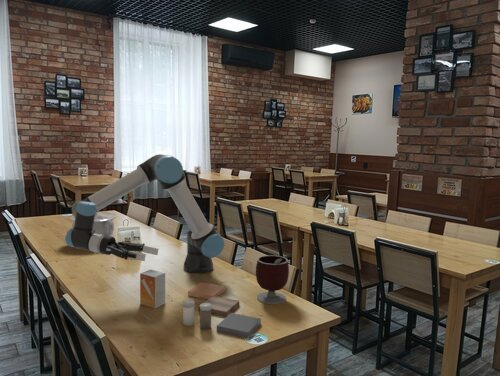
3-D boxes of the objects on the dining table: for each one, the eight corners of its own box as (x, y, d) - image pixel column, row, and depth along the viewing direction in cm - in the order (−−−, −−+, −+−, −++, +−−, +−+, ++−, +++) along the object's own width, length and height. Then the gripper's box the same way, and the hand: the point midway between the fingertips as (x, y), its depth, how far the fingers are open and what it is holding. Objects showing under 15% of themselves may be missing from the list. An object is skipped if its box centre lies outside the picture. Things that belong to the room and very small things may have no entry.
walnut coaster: (212, 300, 175) (212, 295, 175) (239, 305, 171) (239, 300, 170) (198, 311, 164) (198, 306, 164) (226, 316, 160) (226, 311, 159)
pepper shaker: (203, 323, 153) (203, 302, 152) (213, 325, 152) (213, 304, 151) (197, 328, 149) (197, 306, 148) (207, 330, 148) (208, 308, 147)
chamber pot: (71, 239, 268) (70, 207, 265) (116, 237, 276) (116, 206, 273) (66, 251, 241) (65, 215, 239) (116, 248, 249) (116, 214, 247)
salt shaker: (186, 320, 156) (186, 298, 155) (196, 322, 154) (196, 300, 153) (180, 324, 152) (180, 303, 151) (190, 326, 150) (190, 305, 149)
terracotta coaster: (201, 286, 191) (201, 282, 190) (225, 290, 186) (225, 286, 186) (187, 295, 180) (187, 291, 179) (212, 300, 175) (212, 295, 175)
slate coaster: (231, 317, 159) (231, 312, 159) (260, 323, 154) (260, 318, 154) (216, 331, 148) (216, 325, 148) (248, 338, 143) (248, 332, 143)
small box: (139, 304, 169) (139, 273, 167) (150, 299, 174) (150, 269, 173) (155, 309, 165) (155, 277, 163) (165, 303, 171) (165, 272, 169)
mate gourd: (250, 294, 183) (251, 249, 180) (279, 291, 187) (280, 247, 185) (264, 308, 168) (265, 260, 166) (295, 304, 173) (297, 257, 171)
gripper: (115, 248, 185) (161, 258, 182) (85, 258, 161) (137, 270, 157) (118, 231, 185) (163, 241, 182) (88, 239, 160) (140, 250, 157)
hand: (151, 254), depth 170 cm, fingers open, 13 cm apart
